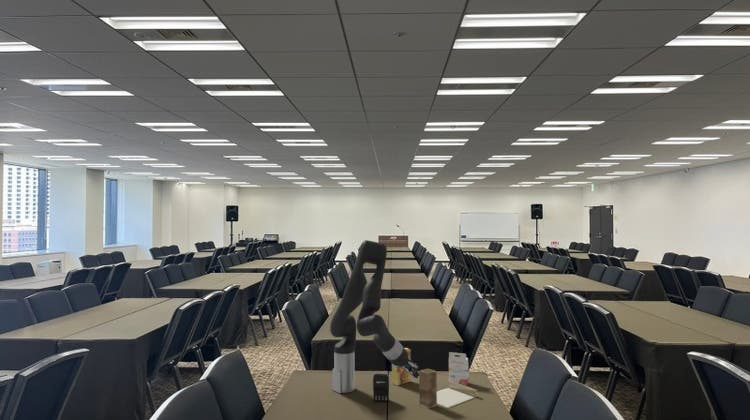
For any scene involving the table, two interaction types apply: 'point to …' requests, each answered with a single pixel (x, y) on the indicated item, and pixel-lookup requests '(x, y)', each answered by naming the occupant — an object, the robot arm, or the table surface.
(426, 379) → the brown block
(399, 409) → the table surface
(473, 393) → the birch lip
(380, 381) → the battery charger
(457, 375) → the ink cartridge box
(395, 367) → the candy box
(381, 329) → the robot arm
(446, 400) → the felt mat
